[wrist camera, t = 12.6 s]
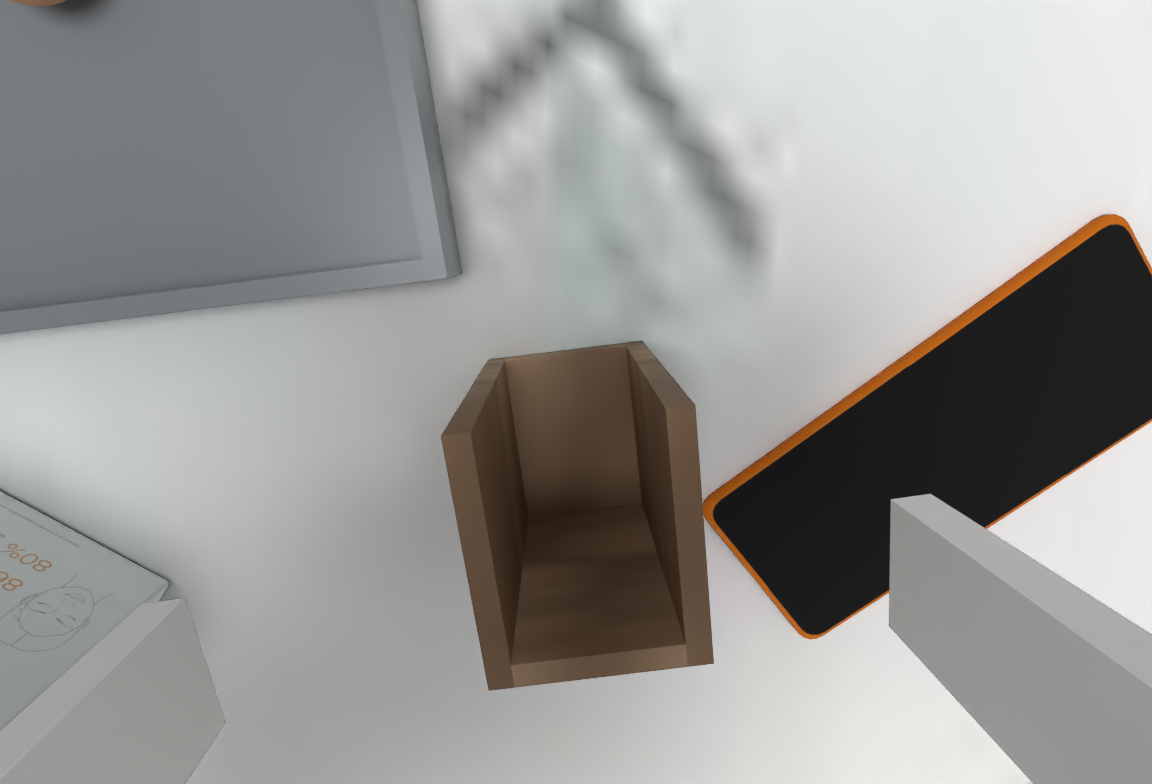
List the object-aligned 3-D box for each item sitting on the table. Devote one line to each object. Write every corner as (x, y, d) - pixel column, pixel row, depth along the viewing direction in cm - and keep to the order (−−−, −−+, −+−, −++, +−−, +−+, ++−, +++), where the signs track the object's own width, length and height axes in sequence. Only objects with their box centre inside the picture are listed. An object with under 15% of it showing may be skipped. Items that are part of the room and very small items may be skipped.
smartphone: (692, 501, 22) (697, 511, 21) (1099, 206, 19) (1124, 205, 18) (803, 637, 23) (812, 652, 22) (1191, 380, 21) (1217, 385, 20)
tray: (-87, 342, 19) (-182, 357, 17) (-301, -177, 15) (-460, -254, 13) (461, 273, 19) (447, 278, 16) (371, -264, 15) (336, -359, 13)
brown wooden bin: (515, 526, 21) (488, 690, 13) (488, 359, 20) (440, 436, 12) (657, 509, 21) (713, 663, 13) (641, 340, 20) (694, 404, 12)
